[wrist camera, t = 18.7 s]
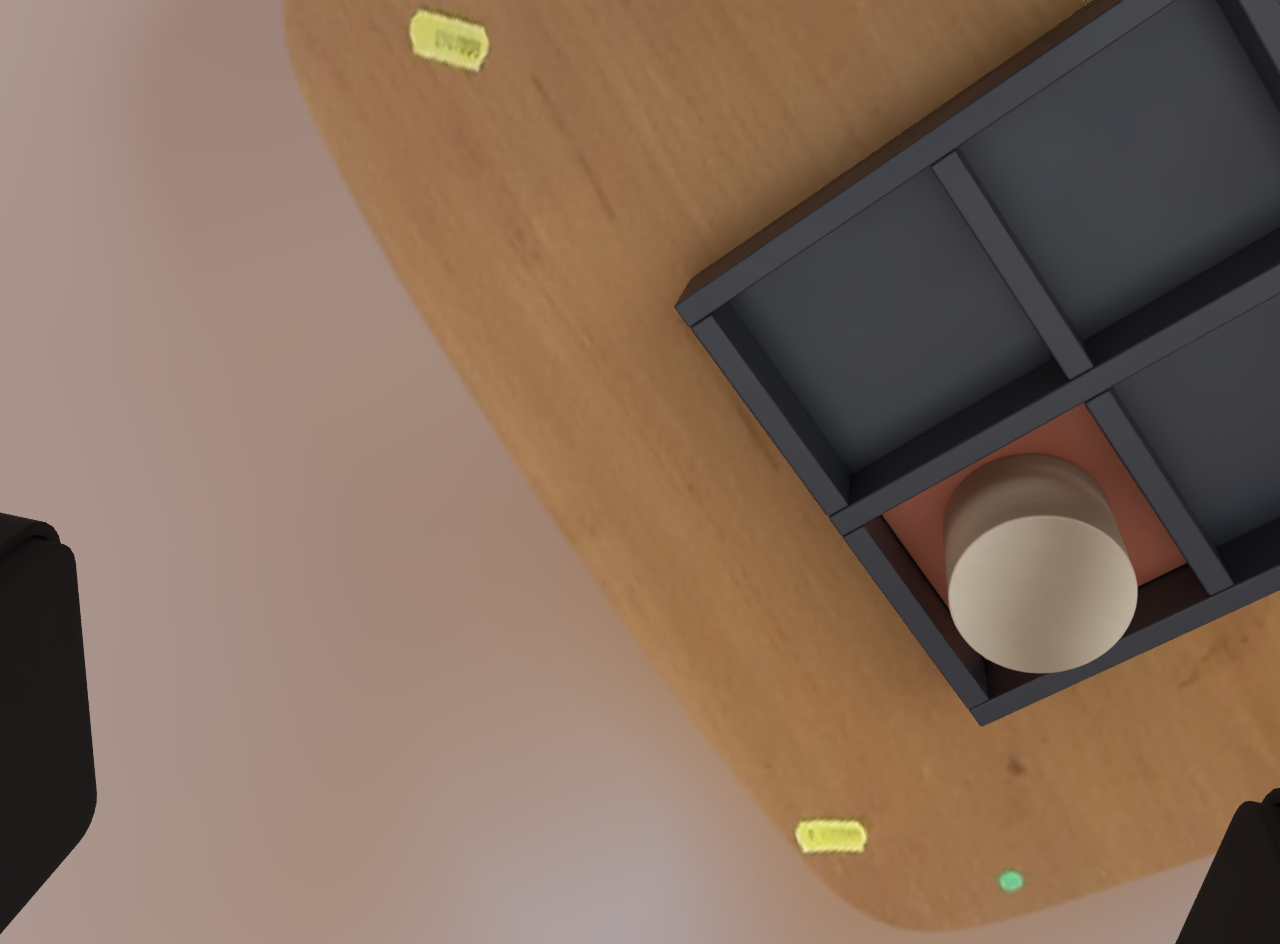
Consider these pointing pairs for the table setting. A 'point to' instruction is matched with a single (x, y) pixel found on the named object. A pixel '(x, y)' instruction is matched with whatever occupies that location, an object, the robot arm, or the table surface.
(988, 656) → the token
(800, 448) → the grid
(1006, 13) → the table surface
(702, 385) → the table surface
